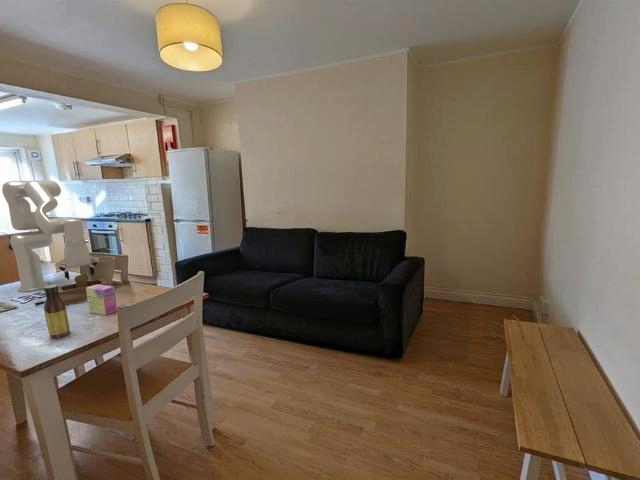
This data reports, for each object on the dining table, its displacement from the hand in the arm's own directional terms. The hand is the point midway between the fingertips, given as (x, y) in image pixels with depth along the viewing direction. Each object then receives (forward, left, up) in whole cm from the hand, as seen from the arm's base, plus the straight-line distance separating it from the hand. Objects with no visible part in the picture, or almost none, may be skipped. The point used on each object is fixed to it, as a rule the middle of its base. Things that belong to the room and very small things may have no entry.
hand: (80, 277), depth 159 cm
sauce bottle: (+43, -14, -11) cm, 47 cm away
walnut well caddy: (0, 0, -11) cm, 11 cm away
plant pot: (-15, +11, -11) cm, 22 cm away
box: (+28, +3, -11) cm, 31 cm away
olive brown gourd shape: (0, 0, -10) cm, 10 cm away
